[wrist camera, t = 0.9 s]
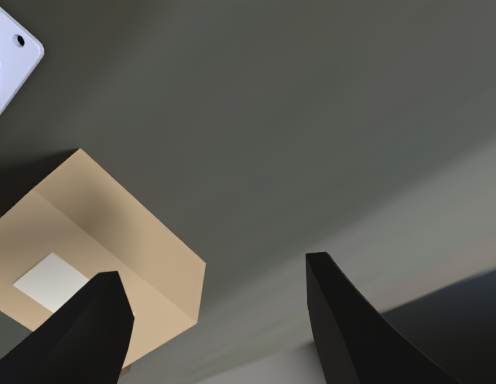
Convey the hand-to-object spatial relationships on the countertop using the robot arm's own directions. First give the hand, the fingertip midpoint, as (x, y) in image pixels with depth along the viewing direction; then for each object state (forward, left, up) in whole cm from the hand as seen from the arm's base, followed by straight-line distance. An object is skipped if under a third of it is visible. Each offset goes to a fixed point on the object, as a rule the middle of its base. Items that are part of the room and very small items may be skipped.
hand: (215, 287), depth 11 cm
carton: (-1, -9, -10) cm, 13 cm away
